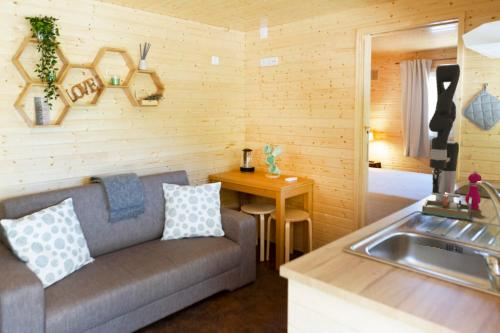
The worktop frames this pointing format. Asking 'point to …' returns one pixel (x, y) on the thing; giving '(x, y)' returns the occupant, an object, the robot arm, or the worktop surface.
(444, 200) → the grey brown angular piece
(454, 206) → the ball
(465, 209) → the tray
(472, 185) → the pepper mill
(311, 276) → the worktop surface
